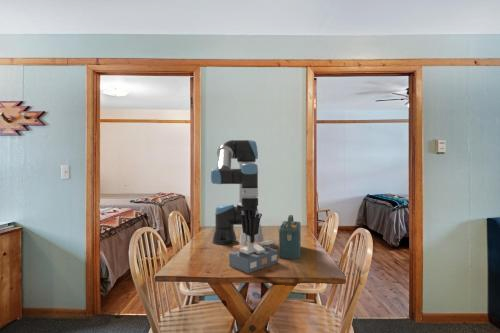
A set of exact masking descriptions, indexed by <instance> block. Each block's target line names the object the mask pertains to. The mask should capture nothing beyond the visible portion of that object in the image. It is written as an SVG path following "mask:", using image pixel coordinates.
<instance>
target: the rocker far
mask: <svg viewBox="0 0 500 333" xmlns="http://www.w3.org/2000/svg"><path fill="white" fill-rule="evenodd" d="M257 244H259V245H260V246H261V247H267V246H268V244H270V245H271V244H274V239H271V240H264V242H258V243H257Z"/></svg>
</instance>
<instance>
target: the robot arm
mask: <svg viewBox="0 0 500 333" xmlns="http://www.w3.org/2000/svg"><path fill="white" fill-rule="evenodd" d="M258 154H259V153H258V146H257V141H255V140H251V139H250V140H249V139H248V140H247V139H244V140H243V139H241V140H240V139H238V140H237V139H236V140H235V139H232V140H228V141H227V140H226V141H224V143H222V144H220V146H219V147H218V148H217V152H216V156H217V162H216V168H212V169H211V171H210V179H211V184H214V185H239V198H238V200H239V201H238V202H237V203H236V206H235V205H234V204H233V203H229V204H228V203H227V204H221V205H218V206H216V208H215V214H214V215H215V223H214V224H215V228H214V229H215V230H214V233H213V237H212V243H213V244H218V245H230V244H234V243H236V242H237V236H236V232H235V229H234V228H235V227H234V226H241V229H243V233H245V234H246V241H247V250H249V251H250V250H254V242H255V238H254V236H255V235H256V234H258V230H259V224H261V218H262V216H263V214H262V213H260V212H259V209H258V206H259V198H258V197H259V184H258V183H259V181H258V180H259V170H258V169H259V168H258V167H259V166H258V164H256V160H258V158H259V155H258ZM232 159H233V160H235V159H237V160H236V162H237V163H238V165H239V168H232Z"/></svg>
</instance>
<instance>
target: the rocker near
mask: <svg viewBox="0 0 500 333" xmlns="http://www.w3.org/2000/svg"><path fill="white" fill-rule="evenodd" d="M232 250H234V251H239V252H240V253H246V254H248V253H252V252H254V250H250V251H249V250H247V246H243V245H240V244H236V245H233V246H232Z"/></svg>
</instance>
